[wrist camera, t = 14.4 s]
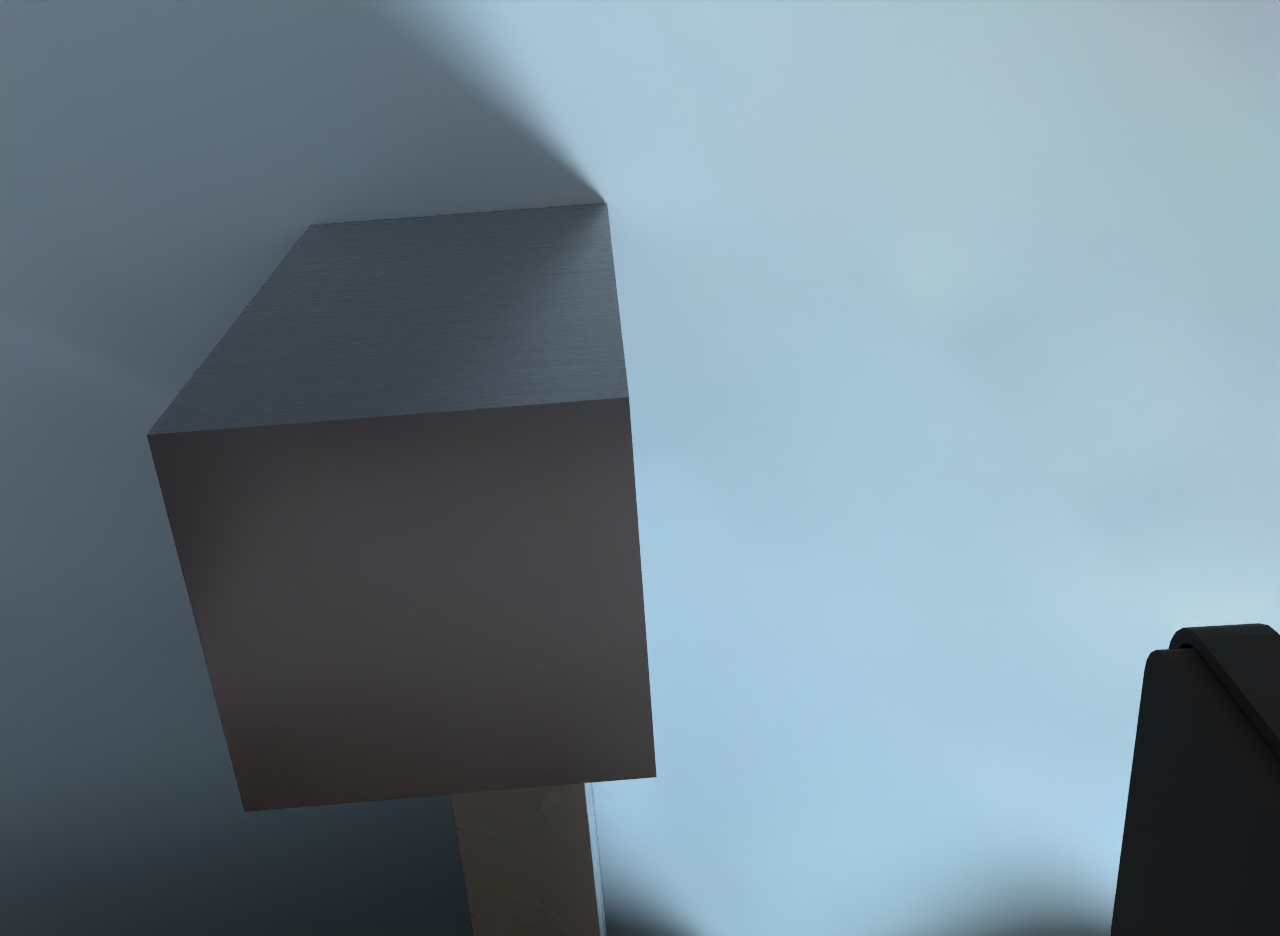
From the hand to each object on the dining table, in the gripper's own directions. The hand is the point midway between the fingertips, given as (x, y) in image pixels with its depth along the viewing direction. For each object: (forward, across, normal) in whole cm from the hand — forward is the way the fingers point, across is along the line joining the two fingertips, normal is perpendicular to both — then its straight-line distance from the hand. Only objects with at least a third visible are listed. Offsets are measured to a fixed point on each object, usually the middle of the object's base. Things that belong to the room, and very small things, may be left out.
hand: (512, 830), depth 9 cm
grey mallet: (+9, +1, +4) cm, 10 cm away
